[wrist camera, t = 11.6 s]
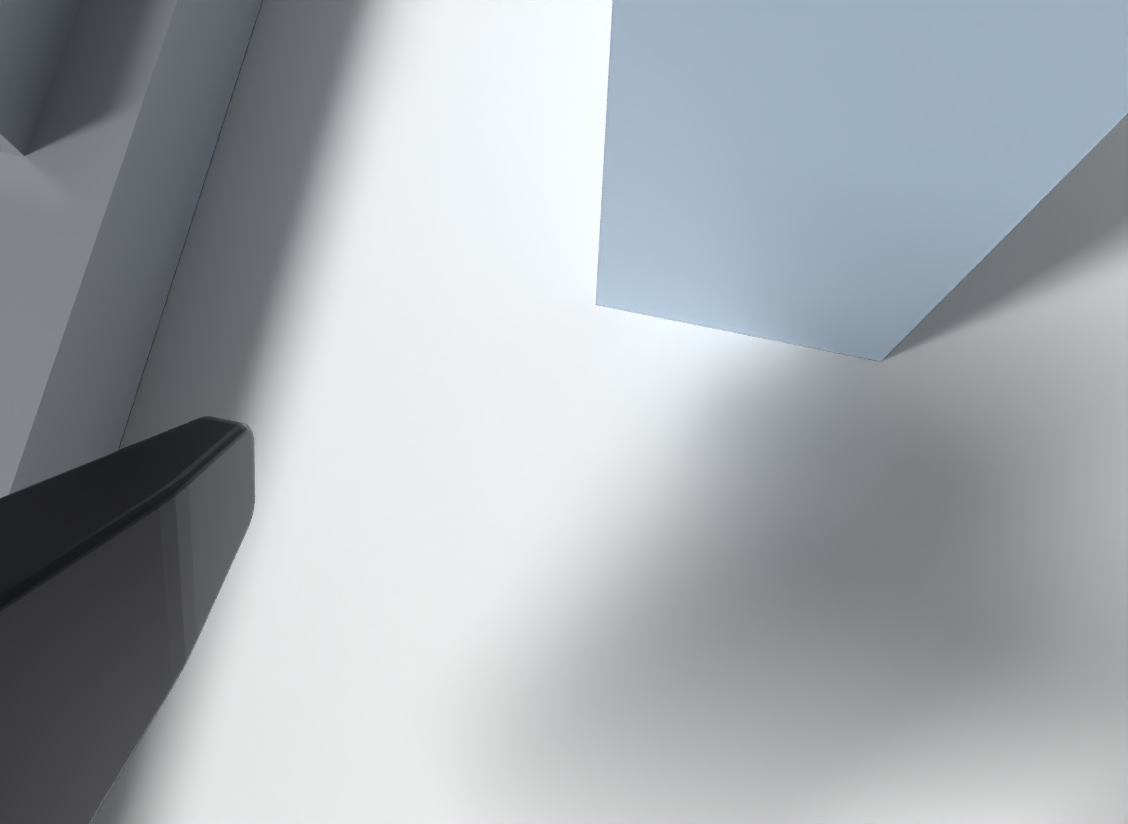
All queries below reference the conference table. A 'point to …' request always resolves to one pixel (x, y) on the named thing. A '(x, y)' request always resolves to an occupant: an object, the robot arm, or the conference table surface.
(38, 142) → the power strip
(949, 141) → the pale blue block
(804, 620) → the conference table surface
